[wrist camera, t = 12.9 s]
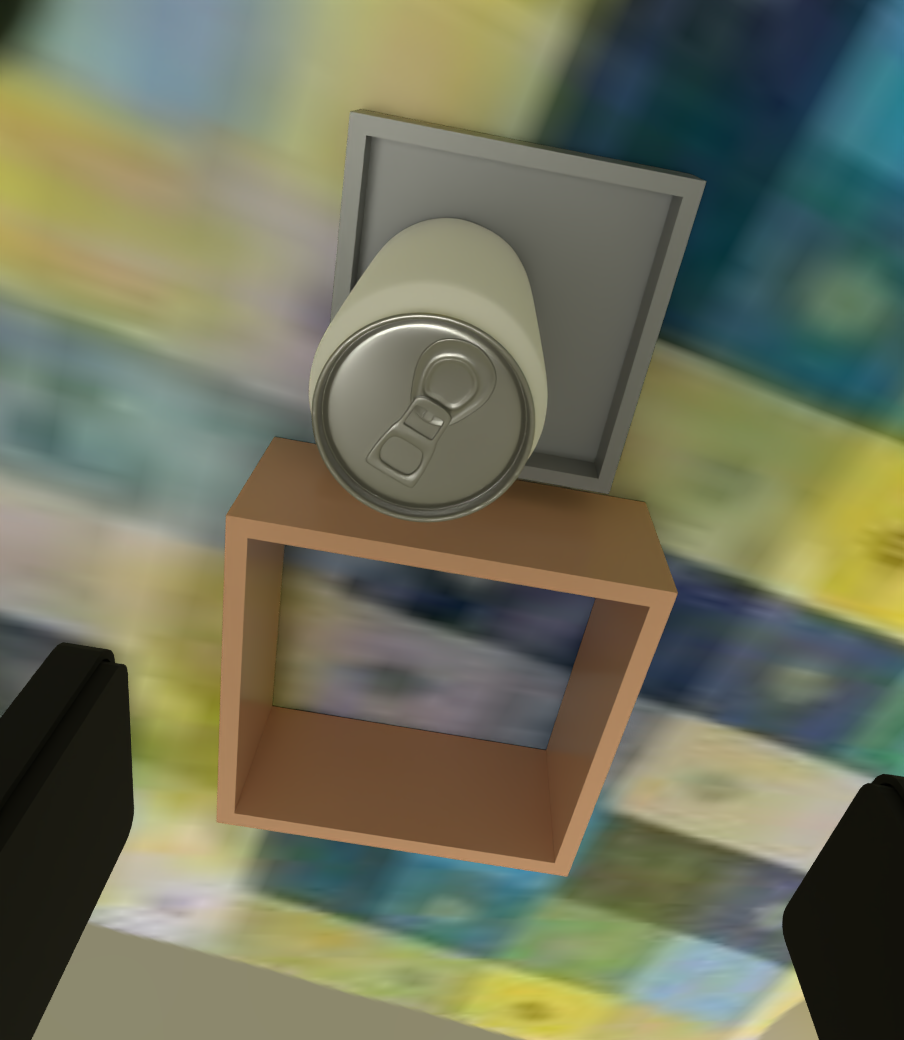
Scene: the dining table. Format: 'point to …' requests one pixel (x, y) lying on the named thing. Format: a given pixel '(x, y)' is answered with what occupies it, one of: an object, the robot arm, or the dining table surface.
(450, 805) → the brown square frame
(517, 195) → the tray
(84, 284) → the dining table surface
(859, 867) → the robot arm
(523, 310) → the can
